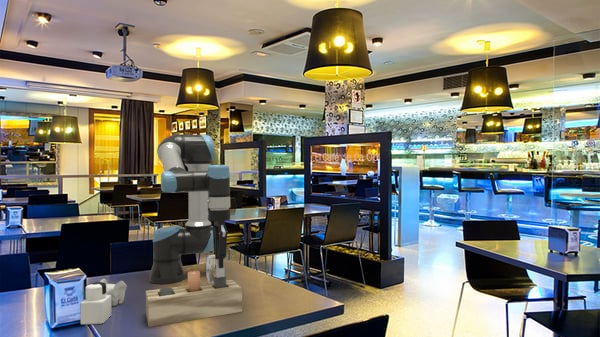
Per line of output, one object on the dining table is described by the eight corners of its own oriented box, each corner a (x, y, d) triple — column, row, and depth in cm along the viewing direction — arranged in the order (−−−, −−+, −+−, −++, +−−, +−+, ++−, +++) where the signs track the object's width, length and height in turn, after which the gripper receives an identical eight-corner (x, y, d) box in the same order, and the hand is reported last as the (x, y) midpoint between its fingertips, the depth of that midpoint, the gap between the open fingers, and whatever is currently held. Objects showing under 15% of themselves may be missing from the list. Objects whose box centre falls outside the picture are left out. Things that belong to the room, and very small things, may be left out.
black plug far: (213, 298, 143) (213, 276, 143) (224, 297, 144) (224, 275, 144) (216, 302, 139) (215, 279, 139) (227, 300, 141) (227, 278, 141)
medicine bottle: (89, 316, 136) (89, 280, 136) (111, 315, 137) (111, 280, 137) (80, 324, 129) (79, 287, 129) (103, 323, 129) (102, 286, 129)
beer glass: (220, 298, 154) (219, 258, 154) (202, 297, 155) (202, 257, 155) (227, 292, 161) (226, 254, 161) (210, 291, 162) (210, 254, 162)
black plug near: (159, 312, 135) (159, 288, 135) (172, 310, 137) (171, 287, 137) (160, 316, 132) (160, 292, 132) (173, 314, 133) (173, 290, 133)
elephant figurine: (86, 308, 144) (86, 283, 144) (113, 298, 155) (113, 275, 155) (106, 311, 141) (106, 286, 141) (132, 301, 152) (132, 277, 152)
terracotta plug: (187, 294, 139) (186, 271, 139) (198, 292, 141) (198, 269, 141) (189, 297, 135) (188, 273, 135) (201, 295, 137) (200, 272, 137)
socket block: (145, 314, 137) (145, 290, 137) (232, 301, 150) (232, 279, 150) (148, 327, 126) (148, 301, 126) (242, 311, 139) (241, 288, 139)
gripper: (204, 208, 146) (205, 273, 146) (212, 211, 134) (213, 282, 134) (225, 207, 149) (226, 271, 149) (234, 209, 137) (235, 279, 137)
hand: (220, 276), depth 142 cm, fingers closed
